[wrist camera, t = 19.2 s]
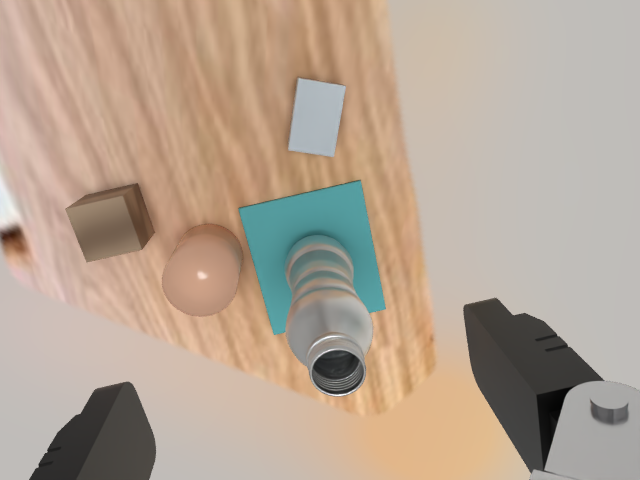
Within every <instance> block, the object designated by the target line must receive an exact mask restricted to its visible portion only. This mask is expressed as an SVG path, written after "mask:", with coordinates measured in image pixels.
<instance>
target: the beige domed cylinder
mask: <svg viewBox="0 0 640 480" xmlns="http://www.w3.org/2000/svg"><path fill="white" fill-rule="evenodd" d="M242 260H243V251H242V247H241V244H240V242H239V240H238V239H237V238H236V236H235V235H234V234H233V233H232V232H230V231H229V230H228V229H226V228H224V227H222V226H219V225H214V224H204V225H199V226H196V227H194V228H192V229H190V230H189V231H188V232H186V233H185V235H184V236H183V237H182V239H181V240H180V242H179V244H178V245H177V247H176V249H175V251H174V252H173V254H172V256H171V258H170V259H169V261H168V263H167V265H166V267H165V269H164V271H163V275H162V287H163V291H164V293H165V296H166V297H167V299H168V300H169V302H170V303H171V304H172V305H173V306H174V307H175V308H177V309H178V310H180V311H181V312H183V313H186V314H189V315H192V316H210V315H214V314H216V313H219V312H220V311H222V310H224V309H225V308H226V307H227V306H228V305H229V304H230V303H231V301H232V300H233V298H234V296H235V294H236V290H237V285H238V280H239V275H240V270H241V265H242Z"/></svg>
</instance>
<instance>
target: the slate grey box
mask: <svg viewBox="0 0 640 480" xmlns="http://www.w3.org/2000/svg"><path fill="white" fill-rule="evenodd" d="M345 89H346V86H344V85H341V84H335V83H330V82H324V81H318V80H312V79H306V78H300V77H297V82H296V89H295V96H294V103H293V110H292V117H291V124H290V131H289V138H288V150H291V151H297V152H304V153H311V154H317V155H324V156H330V157H334V153H335V147H336V141H337V135H338V129H339V124H340V118H341V112H342V106H343V100H344V94H345Z"/></svg>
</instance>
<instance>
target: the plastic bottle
mask: <svg viewBox="0 0 640 480" xmlns="http://www.w3.org/2000/svg"><path fill="white" fill-rule="evenodd" d="M284 269H285V276H286V280H287V283H288V285H289V287H290V289H291V292H292V301H291V306H290V309H289V312H288V315H287V321H286V328H285V330H286V339H287V342H288V345H289V347H290V349H291V350H292V352H293V353H294V355H295V356H296V357H297V359H298V360H299V361H300V362H301V363H303V364H304V365H305V366H307V368H308V370H309V375H310V379H311V381H312V383H313V385H314V386H315V387H316V388H317V389H318V390H319V391H320V392H322V393H324V394H326V395H329V396H345V395H348V394H351V393H353V392H355V391H356V390H357V389H358V388H360V386H361V385H362V384H363V382H364V380H365V376H366V366H365V362H364V357H365V356H366V354H367V353H368V351H369V348H370V346H371V341H372V337H373V323H372V319H371V317H370V314H369V312H368V310H367V308H366V306H365V305H364V304H363V302H362V301H361V300H360V298H359V297H358V295H357V294H356V292H355V289H354V287H353V273H354V271H353V262H352V259H351V256H350V254H349V253H348V251H347V250H346V249H345V248H344V247H343V246H342V245H341V244H340V243H339V242H338V241H336V240H335V239H333V238H331V237H328V236H324V235H311V236H307V237H305V238H302V239H301V240H299V241H298V242H297V243H296V244H295V245H293V247H292V248H291V250H290V251H289V253H288V255H287V258H286V260H285V266H284Z"/></svg>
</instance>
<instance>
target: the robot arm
mask: <svg viewBox="0 0 640 480" xmlns="http://www.w3.org/2000/svg"><path fill="white" fill-rule="evenodd" d="M463 311H464V320H465V327H466V335H467V342H468V349H469V356H470V362H471V367H472V371H473V374H474V377H475V380H476V383H477V385H478V387H479V388H480V390H481V392H482V394H483V395H484V397H485V399H486V400H487V402H488V404H489V405H490V407H491V408H492V410H493V412H494V413H495V415H496V417H497V418H498V420H499V422H500V423H501V425H502V426H503V428H504V430H505V431H506V433H507V435H508V436H509V438H510V440H511V441H512V443H513V444H514V446H515V448H516V449H517V451H518V453H519V454H520V456H521V458H522V459H523V461H524V462H525V464H526V466H527V467H528V469H529V471H530V472H531V476H530V479H529V480H640V391H639V390H637V389H636V388H633V387H631V386H628V385H625V384H622V383H617V382H611V381H604V380H603V379H602V378H601V377H600V376H599V375H598V374H597V373H596V372H595V371H594V370H593V369H592V368H591V367H590V366H589V365H588V364H587V363H586V362H585V361H584V360H583V359H582V358H581V357H580V356H579V355H578V354H577V353H576V352H575V351H574V350H573V349H572V348H570V347H568V345H567V343H565V341H563V340H562V339H561V338H560V337H558V336H557V334H556V333H555V332H554V331H553V330H552V329H551V328H550V327H549V326H548V325H547V324H546V323H545V322H544V321H542V320H539V319H537V318H535V317H533V316H530V315H528V314H526V313H523V314H518V315H512V314H511V313H510V312H509V311H508V310H507V308H506V307H505V306H504V305H503V304H502V303H501V302H500V301H499V300H498V299H497V298H493V299H489V300H484V301H479V302H475V303H471V304H466V305H465V306H464V310H463ZM47 451H48V452H47V453H45V454H44V456H43V458H42V460H41V461H40V463H39V468H36V469H35V471H34V473H33V474H32V476H31V477H30V479H29V480H149V478H150V475H151V471H152V469H153V465H154V462H155V456H156V446H155V438H154V435H153V432H152V429H151V427H150V424H149V422H148V419H147V417H146V414H145V412H144V409H143V407H142V404H141V402H140V399H139V397H138V395H137V392H136V390H135V388H134V386H133V385H132V384H131V383H130V382H123V383H119V384H115V385H111V386H106V387H102V388H97V389H95V390H94V392H93V393H92V395H91V397H90V398H89V400H88V402H87V404H86V405H85V407H84V409H83V411H82V412H81V414H79V415H76V416H75V417H73V418H72V419H71V420H70V421H69V422H68V423H67V424H66V425H65V426H64V427H63V428H62V429H61V430H60V431H59V432H58V433H57V435H56V436H55V438H54V440H53V441H52V443H51V444H50V446H49V448H48V450H47Z"/></svg>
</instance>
